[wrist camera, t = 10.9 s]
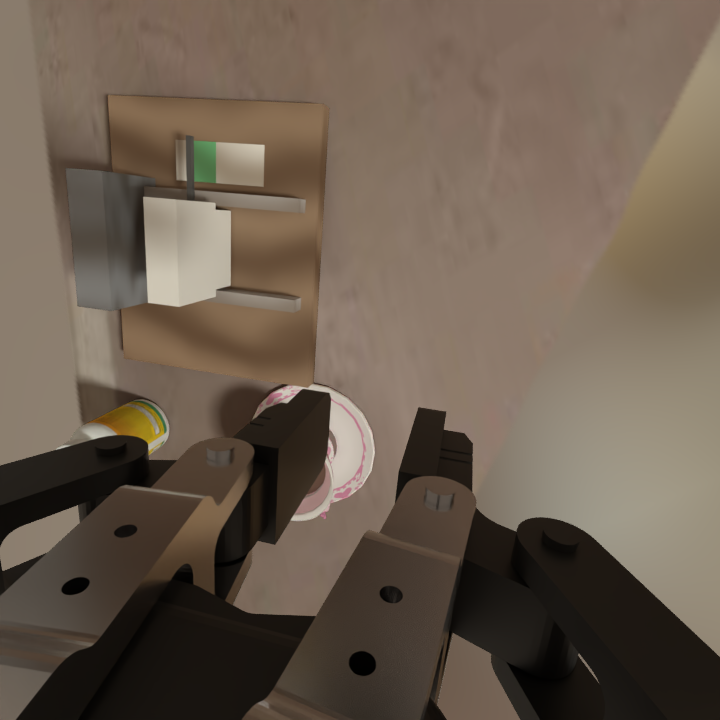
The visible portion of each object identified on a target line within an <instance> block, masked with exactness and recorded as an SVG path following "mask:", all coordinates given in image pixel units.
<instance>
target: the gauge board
mask: <svg viewBox="0 0 720 720" xmlns="http://www.w3.org/2000/svg"><path fill="white" fill-rule="evenodd" d="M108 108H109V124H110V140H111V156H112V172H107V171H99V170H86V169H72V168H66V180H67V191H68V202H69V214H70V225H71V236H72V247H73V259H74V270H75V281H76V293H77V304H78V306H79V307H86V308H93V309H101V310H108V311H114V310H118V309H121V317H122V333H123V349H124V358H125V359H131V360H137V361H143V362H150V363H156V364H162V365H168V366H175V367H181V368H187V369H193V370H200V371H206V372H212V373H218V374H225V375H231V376H237V377H243V378H249V379H256V380H262V381H268V382H274V383H281V384H287V385H293V386H299V387H306V388H308V387H310V386H311V385H312V384H313V383H314V367H315V349H316V332H317V314H318V297H319V279H320V262H321V245H322V227H323V210H324V192H325V175H326V157H327V140H328V123H329V108H328V107H327V106H325V105H324V104H314V103H290V102H265V101H240V100H216V99H191V98H167V97H142V96H118V95H108ZM186 135H190V136H194V187H195V201H200V202H211V203H215V204H216V209H217V210H229V211H231V286H228V287H224V288H220V289H216V297H213V298H209V299H206V300H202V301H199V302H195V303H191V304H188V305H184V306H181V307H176V306H168V305H161V304H153V303H148V292H147V270H146V248H145V226H144V205H143V197H152V198H164V199H176V200H187V176H186Z"/></svg>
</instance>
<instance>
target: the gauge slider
mask: <svg viewBox="0 0 720 720" xmlns="http://www.w3.org/2000/svg"><path fill="white" fill-rule="evenodd" d="M186 176H187V200H176V199H164V198H152V197H143V205H144V226H145V248H146V270H147V292H148V303H153V304H161V305H168V306H176V307H181V306H184V305H188V304H191V303H195V302H199V301H202V300H206V299H209V298H213V297H216V289H220V288H224V287H228V286H231V211H229V210H217V209H216V204H215V203H211V202H200V201H195V187H194V136H190V135H186Z"/></svg>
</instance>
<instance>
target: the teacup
mask: <svg viewBox="0 0 720 720" xmlns="http://www.w3.org/2000/svg"><path fill="white" fill-rule="evenodd" d="M302 389H309V390H315V391H321V392H327V393H330V396H331V411H330V425H329V429H330V430H331V431H332V433H333V435H334V437H335V439H336V444H337V449H336V454H335V456H334V450H333V445H332V442H331V440H330V438H329V440H328V451H327V456H326V460H325V464H324V466H323V469H322V470H321V472H320V474H319V475H318V477H317V478H316V480H315V482H314V483H313V485H312V486H311V488H310V490H309V491H308V493H307V495H306V496H305V498H304V499H303V501H302V503H301V504H300V506H299V507H298V509H297V511H296V512H295V514H294V515H293V517H292V519H291V520H293V521H305V520H310V519H313V518H315V517H317V516H318V515H320V517H323V518H324V519H326V514H325V512H327V511H328V510H329V506H330V503H333V502H336V501H338V500H341V499H344V498H347V497H349V496H350V495H352V494H353V493H354V492H355V491H357V490H358V489H359V488H360V487H362V485H363V484H364V482H365V480H366V479H367V477H368V475H369V474H370V472H371V470H372V466H373V461H374V455H375V446H374V440H373V433H372V430H371V428H370V426H369V424H368V422H367V420H366V418H365V416H364V414H363V413H362V412H361V411H360V410H359V408H358V407H357V406H356V405H355V404H354V403H353V402H352V401H351V400H350V399H349V398H348V397H346V396H344V395H343V394H341V393H339V392H337V391H336V390H334V389H332V388H330V387H327V386H323V385H319V384H314V383H313V384H312V385H311V386H310V387H308V388H306V387H299V386H293V385H287V386H284V387H282V388H280V389H278V390H275V391H273V392H272V393H271V394H270V395H269V396H268V397H267V398H266V399H265V400H264V401H263V402H262V403H261V404H260V405H259V406H258V408H257V410H256V412H255V415H254V417H253V419H254V418H255V417H256V418H257V416H258V415H259V414H260V413H261V412H262V411H263V410H265V409H266V408H268V407H270V406H273V405H276V404H278V403H281V402H282V403H288V402H289V401H290V400H291V399H292V398H293V397H294V396H295V395H296V394H297V393H298V392H300V391H301V390H302ZM253 419H252V420H253ZM333 457H334V458H333Z"/></svg>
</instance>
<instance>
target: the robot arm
mask: <svg viewBox="0 0 720 720" xmlns="http://www.w3.org/2000/svg"><path fill="white" fill-rule="evenodd" d="M330 411H331V396H330V393H327V392H321V391H315V390H309V389H302V390H301V391H300V392H298V393H297V394H296V395H295V396H294V397H293V398H292V399H291V400H290V401H289V402H288V403H282V402H281V403H278V404H276V405H273V406H270V407H268V408H266V409H265V410H263V411H262V412H261V413H260V414H259V415H258V416H257V418H256V417H255V418H254V419H253V420H252V421H251V422H250V424H247V425H246V426H245V427H244V428H243V429H242V430H241V431H240V432H238V433H237V434H236V435H235V436H234V437H233V438H212V439H207V440H204V441H200V442H198V443H196V444H194V445H192V446H191V447H190V448H189V449H188V450H187V451H186V452H185V453H184V454H183V455H182V456H181V457H180V458H179V459H178V460H149V449H148V443H147V442H146V441H145V440H143V439H142V438H139V437H136V436H130V435H113V436H105V437H100V438H96V439H93V440H89V441H86V442H82V443H79V444H75V445H72V446H68V447H65V448H61V449H57V450H54V451H51V452H47V453H44V454H40V455H36V456H33V457H29V458H26V459H22V460H18V461H15V462H11V463H8V464H4V465H1V466H0V545H1V543H2V541H3V540H4V539H5V537H6V536H7V535H8V534H9V533H10V532H12V531H13V530H15V529H17V528H18V527H20V526H23V525H25V524H28V523H31V522H34V521H36V520H39V519H42V518H44V517H47V516H50V515H52V514H55V513H58V512H61V511H63V510H66V509H69V508H71V507H74V506H77V505H78V509H79V519H80V523H79V524H78V525H77V526H76V527H75V528H74V529H73V530H71V531H70V533H68V534H67V535H66V536H65V537H64V538H63V539H62V540H61V541H59V542H58V543H57V544H56V545H55V546H54V547H53V548H52V549H51V550H50V551H49V552H47V553H45V554H43V555H41V556H39V557H36V558H34V559H31V560H29V561H26V562H24V563H22V564H20V565H17V566H15V567H12V568H10V569H7V570H5V571H2V567H1V561H0V720H447V719H446V718H445V716H444V715H443V713H442V712H441V710H440V709H439V708H438V706H437V704H438V699H439V695H440V690H441V686H442V681H443V677H444V672H445V668H446V663H447V659H448V654H449V650H450V645H451V641H452V636H453V633H455V634H456V635H458V636H460V637H462V638H464V639H465V640H467V641H469V642H471V643H473V644H475V645H476V646H478V647H480V648H482V649H484V650H486V651H488V652H489V653H491V663H492V666H493V669H494V672H495V674H496V676H497V677H498V680H499V681H500V683H501V685H502V687H503V689H504V690H505V692H506V694H507V696H508V698H509V700H510V701H511V703H512V705H513V707H514V709H515V711H516V712H517V714H518V716H519V718H520V719H521V720H720V657H719V656H718V655H717V654H716V653H715V652H714V651H713V650H712V649H711V648H710V647H709V646H707V644H705V643H704V642H703V641H702V640H701V639H700V638H699V637H698V636H697V635H696V634H695V633H694V632H693V631H692V630H691V629H689V628H688V627H687V626H686V625H685V624H684V623H683V622H682V621H681V620H680V619H679V618H678V617H677V616H676V615H675V614H673V613H672V612H671V611H670V610H669V609H668V608H667V607H666V606H665V605H664V604H663V603H662V602H661V601H660V600H659V599H657V598H656V597H655V596H654V595H653V594H652V593H651V592H650V591H649V590H648V589H647V588H646V587H645V586H644V585H643V584H642V583H641V582H640V581H638V580H637V579H636V578H635V577H634V576H633V575H632V574H631V573H630V572H629V571H628V570H627V569H626V568H625V567H623V566H622V565H621V564H620V563H619V562H618V561H617V560H616V559H615V558H614V557H613V556H612V555H610V553H609V552H608V551H606V550H605V549H604V548H603V547H602V546H601V545H600V544H599V543H598V542H597V541H596V540H595V539H594V538H592V537H591V536H590V535H589V534H587V533H586V532H585V531H583V530H581V529H579V528H578V527H576V526H574V525H571V524H569V523H566V522H563V521H560V520H556V519H551V518H541V517H540V518H531V519H527V520H525V521H523V522H522V523H520V524H519V526H518V528H517V532H516V531H513V530H510V529H508V528H506V527H503V526H501V525H499V524H497V523H495V522H493V521H491V520H489V519H488V518H487V517H485V516H484V515H483V514H482V513H480V511H479V510H478V509H477V508H476V498H475V496H474V494H473V493H472V461H473V456H472V454H473V443H472V442H471V441H470V440H469V438H468V437H467V436H466V435H465V434H464V433H459V432H453V431H448V430H444V424H445V417H446V412H445V411H438V410H432V409H426V408H420V407H419V408H418V411H417V414H416V417H415V421H414V424H413V427H412V430H411V434H410V437H409V440H408V443H407V446H406V450H405V453H404V456H403V459H402V463H401V466H400V469H399V474H398V483H397V491H396V500H395V505H394V507H393V509H392V510H391V512H390V514H389V516H388V518H387V520H386V521H385V523H384V525H383V527H382V529H381V531H380V533H378V532H375V531H371V530H368V531H367V532H366V533H365V534H364V535H363V537H362V539H361V540H360V542H359V544H358V546H357V547H356V549H355V551H354V552H353V554H352V556H351V557H350V559H349V561H348V563H347V564H346V566H345V568H344V569H343V571H342V573H341V574H340V576H339V578H338V580H337V581H336V583H335V585H334V586H333V588H332V590H331V592H330V593H329V595H328V597H327V598H326V600H325V602H324V603H323V605H322V607H321V609H320V610H319V612H318V614H317V615H316V616H295V615H268V614H251V613H247V612H245V611H242V610H240V609H239V608H237V607H235V606H233V604H234V602H235V599H236V597H237V595H238V593H239V591H240V589H241V586H242V584H243V582H244V580H245V578H246V576H247V573H248V571H249V569H250V567H251V564H252V548H253V547H254V545H255V544H256V542H257V541H261V542H266V543H270V544H274V545H275V544H276V543H277V541H278V539H279V538H280V536H281V535H282V533H283V531H284V530H285V528H286V527H287V525H288V523H289V522H290V520H291V519H292V517H293V515H294V514H295V512H296V511H297V509H298V507H299V506H300V504H301V503H302V501H303V499H304V498H305V496H306V495H307V493H308V491H309V490H310V488H311V486H312V485H313V483H314V482H315V480H316V478H317V477H318V475H319V474H320V472H321V470H322V469H323V466H324V464H325V460H326V456H327V451H328V440H329V425H330ZM578 654H580V655H581V656H582V657H583V659H584V660H585V661H586V662H587V664H588V665H589V666H590V668H591V669H592V671H593V672H594V674H595V676H596V677H597V679H598V681H599V683H598V682H597V680H596V679H595V678H594V676H593V675H592V674H591V672H590V671H589V670H588V668H587V667H586V666H585V664H584V663H583V662H582V661H581V659H580V658H579V656H578Z"/></svg>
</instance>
